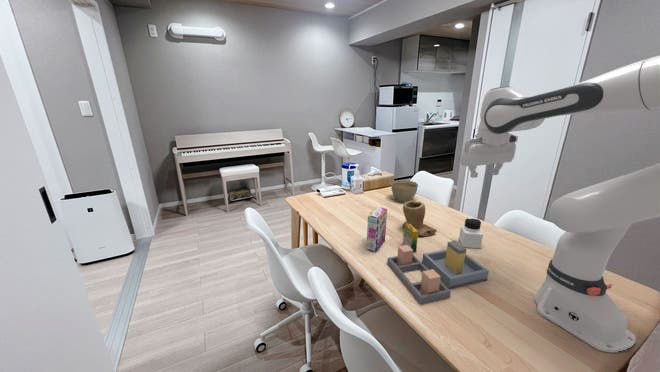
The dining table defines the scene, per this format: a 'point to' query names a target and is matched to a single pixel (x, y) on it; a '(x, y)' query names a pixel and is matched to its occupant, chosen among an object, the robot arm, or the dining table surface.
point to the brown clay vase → (417, 217)
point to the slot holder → (416, 286)
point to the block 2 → (430, 282)
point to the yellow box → (455, 257)
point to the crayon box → (410, 236)
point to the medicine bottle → (471, 233)
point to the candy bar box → (376, 229)
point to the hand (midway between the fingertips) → (484, 175)
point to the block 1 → (404, 255)
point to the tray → (469, 275)
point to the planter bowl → (404, 190)
